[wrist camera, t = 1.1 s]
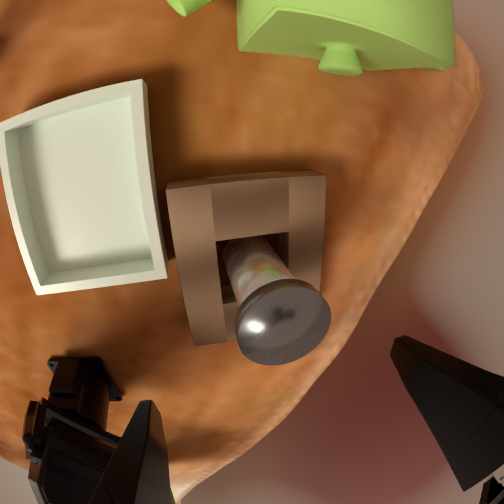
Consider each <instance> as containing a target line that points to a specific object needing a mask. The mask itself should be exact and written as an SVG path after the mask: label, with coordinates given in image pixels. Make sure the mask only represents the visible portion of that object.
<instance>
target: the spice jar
mask: <svg viewBox="0 0 504 504" xmlns="http://www.w3.org/2000/svg"><path fill="white" fill-rule="evenodd" d="M223 261H224V264H225V267H226V270H227V273H228V276H229V279H230V282H231V285H232V288H233V291H234V294H235V297H236V300H237V303H238V306H239V308H238V311H237V313H236V316H235V320H234V330H235V334H236V337H237V341H238V344H239V347H240V349H241V351H242V353H243V354H244V355H245V356H246V357H247V358H248V359H250V360H251V361H253V362H256V363H258V364H263V365H281V364H286V363H289V362H292V361H295V360H297V359H299V358H301V357H303V356H305V355H307V354H308V353H309V352H311V351H312V350H313V349H314V348H315V347H316V346H317V345H318V344H319V343H320V342H321V341H322V340H323V338H324V337H325V335H326V333H327V331H328V329H329V326H330V322H331V311H330V307H329V305H328V303H327V302H326V300H325V299H324V298H323V297H322V295H321V294H320V293H319V291H318V290H317V289H316V288H315V287H314V286H313V285H311V284H310V283H308V282H306V281H303V280H299V279H295V278H294V277H293V276H292V274H291V273H290V271H289V270H288V269H287V267H286V266H285V265H284V263H283V262H282V260H281V259H280V258H279V256H278V255H277V254H276V252H275V251H274V249H273V248H272V247H271V245H270V244H269V243H268V241H267V240H266V239H265V237H264V236H262V235H259V236H251V237H243V238H236V239H229V240H228V241H227V243H226V244H225V246H224V249H223Z"/></svg>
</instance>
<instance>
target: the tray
mask: <svg viewBox="0 0 504 504" xmlns="http://www.w3.org/2000/svg"><path fill="white" fill-rule="evenodd" d="M0 165H1V172H2V178H3V184H4V189H5V194H6V199H7V204H8V208H9V212H10V216H11V220H12V224H13V228H14V231H15V235H16V238H17V242H18V245H19V248H20V251H21V254H22V257H23V260H24V263H25V266H26V269H27V272H28V274H29V277H30V279H31V282H32V285H33V287H34V290H35V292H36V294H37V295H43V294H51V293H59V292H67V291H75V290H83V289H91V288H99V287H106V286H114V285H121V284H129V283H136V282H144V281H151V280H158V279H165V278H167V276H168V257H167V251H166V246H165V240H164V234H163V228H162V222H161V216H160V209H159V202H158V195H157V188H156V180H155V172H154V163H153V154H152V144H151V133H150V120H149V106H148V87H147V84H146V83H145V82H144V80H143V79H138V80H133V81H128V82H123V83H118V84H113V85H109V86H105V87H101V88H97V89H93V90H89V91H85V92H82V93H78V94H75V95H71V96H68V97H65V98H62V99H59V100H56V101H53V102H50V103H47V104H44V105H42V106H39V107H36V108H34V109H31V110H29V111H26V112H24V113H21V114H19V115H17V116H14V117H12V118H10V119H8V120H5V121H3V122H1V123H0Z"/></svg>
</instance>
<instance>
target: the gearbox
mask: <svg viewBox="0 0 504 504" xmlns="http://www.w3.org/2000/svg"><path fill="white" fill-rule="evenodd" d="M211 1H212V0H167V2H168V3H169V4H170V5H171V7H172V8H173V9H174V10H175V11H176V12H178V13H179V14H180V15H182V16H184V17H186V16H187V15H189V14H191V13H192V12H194V11H195V10H197V9H199V8H200V7H202V6H204V5H205V4H207V3H209V2H211ZM236 11H237V40H238V49H239V51H242V52H255V53H267V54H277V55H286V56H294V57H301V58H308V59H314V60H320V63H319V67H318V69H319V70H321V71H323V72H325V73H329V74H334V75H342V76H359V75H362V74H363V70H368V71H378V70H390V69H406V68H419V69H423V70H427V71H444V67H449V68H453V66H455V26H454V14H453V4H452V0H236ZM362 69H363V70H362Z"/></svg>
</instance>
